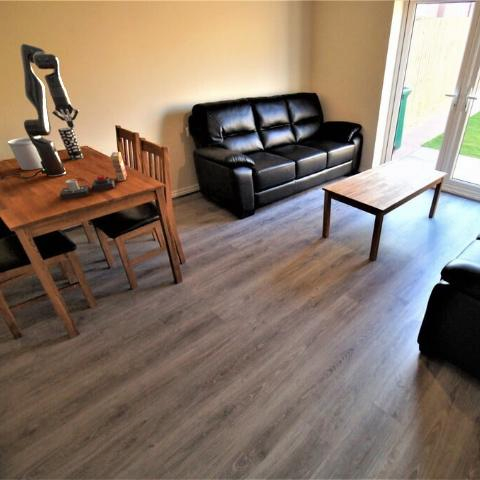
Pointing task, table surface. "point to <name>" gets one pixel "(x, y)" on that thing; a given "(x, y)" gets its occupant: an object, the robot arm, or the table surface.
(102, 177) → the power button
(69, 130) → the spotted tube
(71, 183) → the dial
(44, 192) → the table surface
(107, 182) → the button housing
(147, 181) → the table surface
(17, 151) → the utensil holder
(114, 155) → the candy box
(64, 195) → the dial panel
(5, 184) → the table surface
